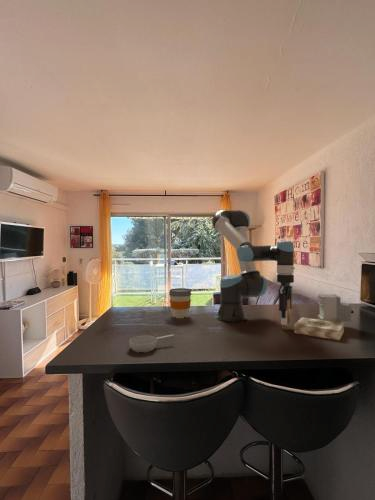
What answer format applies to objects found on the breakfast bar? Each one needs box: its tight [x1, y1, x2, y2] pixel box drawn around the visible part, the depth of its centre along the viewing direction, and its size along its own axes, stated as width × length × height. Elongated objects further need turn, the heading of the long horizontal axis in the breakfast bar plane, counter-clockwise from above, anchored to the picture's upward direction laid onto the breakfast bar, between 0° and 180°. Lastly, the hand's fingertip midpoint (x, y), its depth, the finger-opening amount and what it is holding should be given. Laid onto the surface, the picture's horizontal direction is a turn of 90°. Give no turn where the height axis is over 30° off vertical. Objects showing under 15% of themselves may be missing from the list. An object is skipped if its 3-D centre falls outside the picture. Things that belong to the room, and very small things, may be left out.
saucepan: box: [128, 333, 175, 353], centre depth 110 cm, size 11×18×4 cm, turn 114°
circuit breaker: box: [317, 293, 354, 323], centre depth 134 cm, size 8×14×15 cm, turn 78°
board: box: [293, 317, 345, 341], centre depth 126 cm, size 18×14×4 cm
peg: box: [281, 299, 291, 331], centre depth 132 cm, size 4×4×14 cm
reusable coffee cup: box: [168, 287, 192, 319], centre depth 158 cm, size 13×13×15 cm
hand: (285, 323), depth 132 cm, fingers closed on peg, 4 cm apart
